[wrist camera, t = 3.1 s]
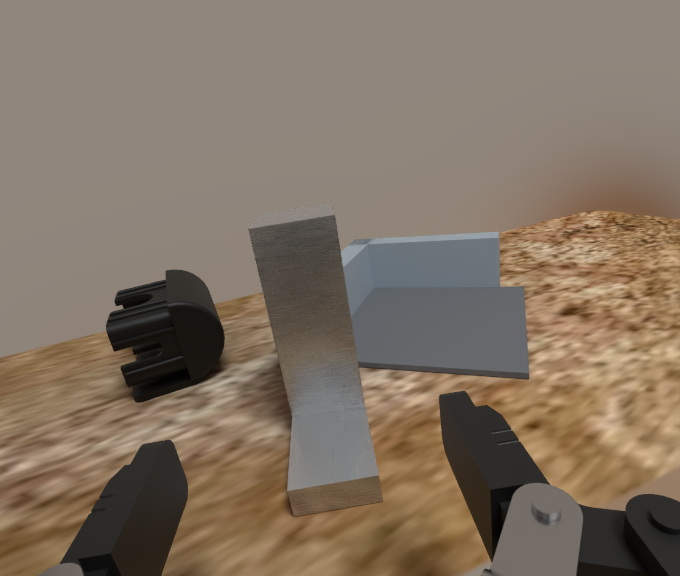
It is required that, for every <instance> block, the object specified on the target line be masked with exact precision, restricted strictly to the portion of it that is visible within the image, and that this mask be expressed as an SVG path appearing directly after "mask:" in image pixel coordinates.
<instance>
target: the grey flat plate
mask: <svg viewBox="0 0 680 576" xmlns="http://www.w3.org/2000/svg"><path fill="white" fill-rule="evenodd" d="M351 321H352V327H353V334H354V340H355V346H356V353H357V359H358V366H359V367H370V368H384V369H398V370H412V371H426V372H440V373H454V374H468V375H481V376H495V377H509V378H523V379H529V363H528V348H527V332H526V317H525V301H524V287H395V288H373V289H372V290H371V292H370V293H369V294H368V296H367V297H366V298H365V299H364V301H363V302H362V303H361V305H360V306H359V307H358V309H357V310H356V311H355V312H354V314H353V315H352V316H351Z"/></svg>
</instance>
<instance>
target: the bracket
mask: <svg viewBox="0 0 680 576" xmlns="http://www.w3.org/2000/svg"><path fill="white" fill-rule="evenodd" d="M248 230H249V234H250V238H251V242H252V247H253V251H254V255H255V260H256V264H257V268H258V272H259V277H260V281H261V285H262V289H263V294H264V298H265V303H266V307H267V311H268V316H269V320H270V324H271V328H272V333H273V337H274V341H275V346H276V350H277V354H278V359H279V363H280V367H281V372H282V376H283V380H284V384H285V389H286V393H287V397H288V402H289V406H290V410H291V415H292V428H291V442H290V457H289V471H288V486H287V492H288V496H289V500H290V504H291V508H292V512H293V516H294V517H295V516H301V515H307V514H313V513H319V512H325V511H330V510H336V509H342V508H348V507H354V506H359V505H365V504H371V503H377V502H383V499H382V492H381V486H380V479H379V473H378V468H377V463H376V459H375V454H374V449H373V444H372V439H371V434H370V429H369V424H368V419H367V414H366V409H365V404H364V397H363V391H362V385H361V378H360V372H359V366H358V359H357V353H356V346H355V340H354V334H353V327H352V321H351V315H350V308H349V302H348V296H347V289H346V283H345V276H344V270H343V264H342V257H341V251H340V245H339V238H338V232H337V226H336V219H335V214H334V211H333V207H332V204H331V202H330V203H324V204H318V205H312V206H306V207H300V208H294V209H288V210H282V211H276V212H270V213H263V214H259V215H258V216H257V218H256V219H255V220H254V222H253V223H252V225H251V226H250V228H249V229H248Z"/></svg>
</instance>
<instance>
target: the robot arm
mask: <svg viewBox="0 0 680 576" xmlns="http://www.w3.org/2000/svg"><path fill="white" fill-rule="evenodd" d="M439 405H440V417H441V429H442V439H443V445H444V449H445V453H446V456H447V459H448V461H449V463H450V466H451V468H452V470H453V473H454V475H455V477H456V480H457V482H458V484H459V487H460V489H461V491H462V494H463V496H464V498H465V501H466V503H467V505H468V508H469V510H470V513H471V515H472V517H473V520H474V522H475V524H476V527H477V529H478V531H479V534H480V536H481V538H482V541H483V543H484V545H485V548H486V550H487V552H488V555H489V557H490V559H491V562H492V565H491V567H490V569H489V570H488V569H484V571H483V572H482V574H481V576H680V502H678V501H676V500H673V499H671V498H668V497H665V496H661V495H655V494H643V495H638V496H636V497H633V498H632V499H630V500H629V502H628V503H627V505H626V511H618V510H609V509H600V508H593V507H587V506H584V505H580V504H578V503H577V502H576V501H575V500H574V499H573V497H571V496H570V495H569V494H568V493H566V492H565V491H563V490H561V489H559V488H557V487H555V486H552V485H550V484H549V483H548V481H547V480H546V478H545V477H544V475H543V474H542V472H541V471H540V470H539V468H538V467H537V465H536V464H535V462H534V461H533V459H532V458H531V457H530V455H529V454H528V452H527V451H526V449H525V448H524V446H523V445H522V444H521V442H519V440H518V438H517V436H516V435H515V433H514V432H513V431H511V428H510V426H509V425H508V423H507V422H506V420H505V419H504V418H503V416H502V415H501V414H499V413H498V412H496V411H495V410H494V409H492V408H491V407H489V406H488V405H484V406H478V407H475V405H474V404H473V402H472V401H471V399H470V397H469V396H468V394H467V393H466V392H465V391H460V392H454V393H448V394H442V395H440V396H439ZM187 496H188V485H187V479H186V476H185V474H184V471H183V468H182V465H181V463H180V460H179V457H178V454H177V452H176V449H175V446H174V444H173V442H172V441H171V440H165V441H159V442H153V443H147V444H143V445H142V446H141V447H140V448H139V450H138V452H137V454H136V455H135V457H134V459H133V461H132V462H131V464H130V465H125V466H124V467H123V468H122V469H121V470H120V471H118V472H117V473H116V474H115V475H114V476H113V477H112V478H111V479H110V480H109V482H108V483H107V485H106V487H105V488H104V490H103V492H102V494H101V495H100V499H99V500H97V502H96V504H95V505H94V507H93V509H92V510H91V511H92V513H91V514H89V515H88V517H87V519H86V520H85V522H84V524H83V525H82V527H81V529H80V531H79V532H78V534H77V536H76V537H75V539H74V541H73V542H72V544H71V546H70V547H69V549H68V551H67V552H66V554H65V556H64V557H63V559H62V561H61V562H60V564H59V565H57V566H54V567H52V568H50V569H48V570H46V571H44V572H43V573H41V574H40V575H38V576H161V574H162V571H163V568H164V566H165V563H166V560H167V557H168V554H169V551H170V548H171V545H172V542H173V540H174V537H175V534H176V531H177V528H178V525H179V522H180V519H181V516H182V514H183V511H184V508H185V505H186V502H187Z"/></svg>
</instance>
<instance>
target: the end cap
mask: <svg viewBox="0 0 680 576" xmlns="http://www.w3.org/2000/svg"><path fill="white" fill-rule="evenodd" d="M115 304H116V306H119V305H123V308H124V309H121V310H118V311H114V312H111V313H110V315H109V318H108V321H107V324H106V330H107V334H108V337H109V340H110V342H111V345H112V347H113V350H114V352H115V351H118V350H122V349H125V348H129V347H132V346H133V353H134V355H136V354H138V356H137V361H135V362H132V363H129V364H125V365H122V366H121V371H122V373H123V376H124V378H125V381H126V384H127V385H128V387H131V386H134V387H133V397H134V399H135V401H136V402H139V403H140V402H144V401H147V400H150V399H153V398H156V397H159V396H162V395H165V394H168V393H171V392H174V391H177V390H181V389H184V388H187V387H190V386H192V385H195V384H196V383H198V382H200V381H201V380H202V379H203V378H204V377H205V376H206V374H207V373H208V372H209V371H210V369H211V368H213V367H214V365H215V364H216V363H217V361H218V360H219V358H220V356H221V354H222V351H223V348H224V339H225V337H224V330H223V327H222V325H221V322H220V319H219V317H218V314H217V311H216V309H215V306H214V303H213V300H212V298H211V295H210V292H209V290H208V288H207V286H206V285H205V283H204V282H203V281H202V280H201V279H200V278H199V277H197V276H196V275H194V274H192V273H190V272H187V271H183V270H167V271H166V280H162V281H158V282H154V283H150V284H146V285H142V286H138V287H134V288H130V289H125V290H121V291H119V292H117V295H116V298H115Z"/></svg>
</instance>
